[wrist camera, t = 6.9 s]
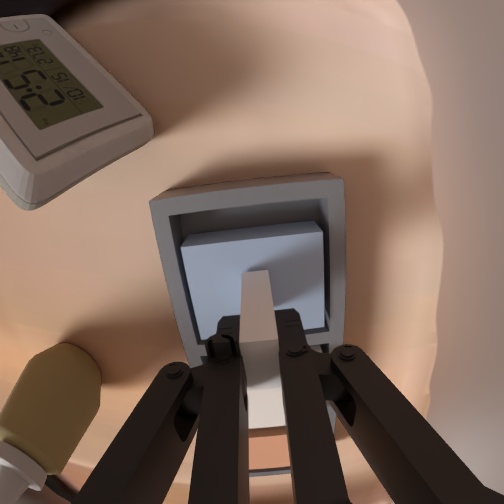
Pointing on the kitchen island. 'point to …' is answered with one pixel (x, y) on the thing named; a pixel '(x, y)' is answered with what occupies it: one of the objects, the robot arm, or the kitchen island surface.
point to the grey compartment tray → (253, 215)
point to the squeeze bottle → (46, 417)
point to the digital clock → (58, 112)
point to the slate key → (256, 259)
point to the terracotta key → (268, 448)
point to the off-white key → (268, 405)
